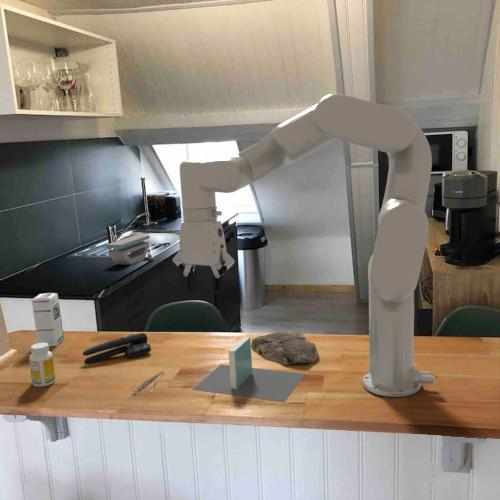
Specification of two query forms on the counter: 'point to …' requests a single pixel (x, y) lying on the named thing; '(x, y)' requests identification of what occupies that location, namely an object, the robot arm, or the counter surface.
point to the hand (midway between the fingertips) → (205, 291)
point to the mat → (252, 383)
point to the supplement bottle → (41, 365)
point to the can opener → (120, 348)
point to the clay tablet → (285, 348)
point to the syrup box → (48, 319)
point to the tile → (240, 362)
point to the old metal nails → (147, 383)
